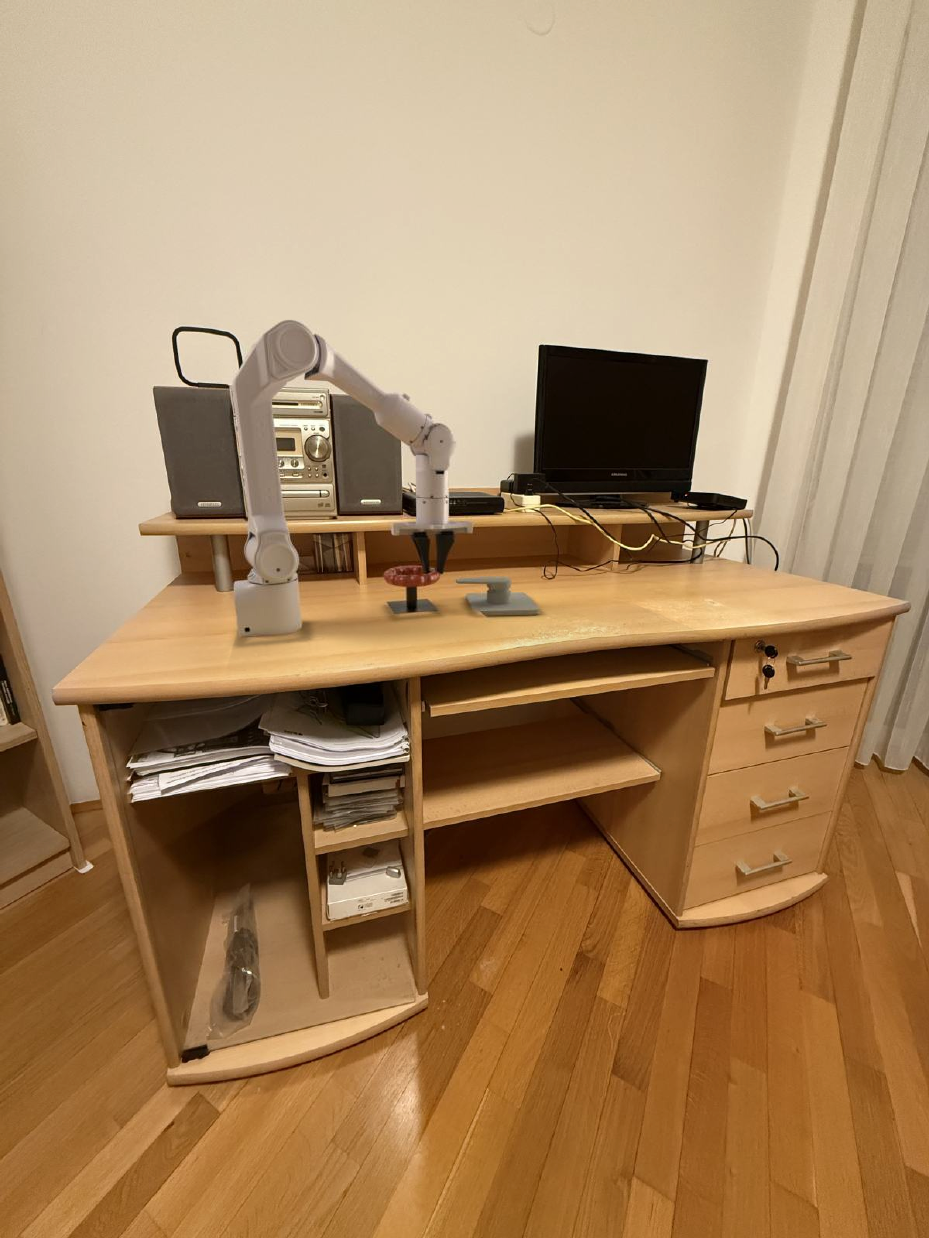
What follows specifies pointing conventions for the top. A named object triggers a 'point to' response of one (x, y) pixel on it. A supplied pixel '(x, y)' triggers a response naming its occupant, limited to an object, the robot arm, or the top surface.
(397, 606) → the peg stand
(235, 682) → the top surface
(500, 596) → the shower valve
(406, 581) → the ring
